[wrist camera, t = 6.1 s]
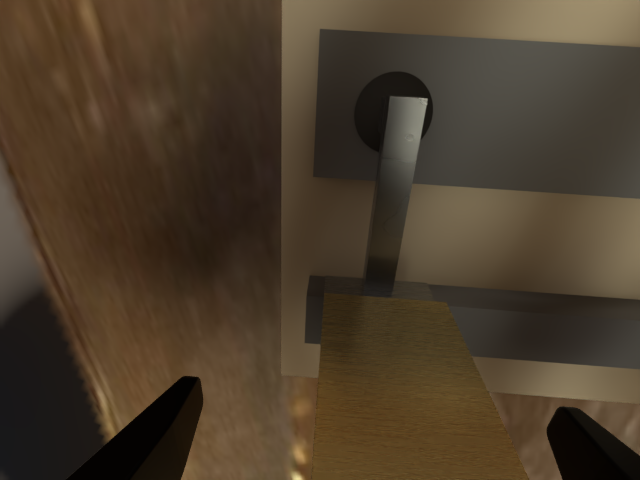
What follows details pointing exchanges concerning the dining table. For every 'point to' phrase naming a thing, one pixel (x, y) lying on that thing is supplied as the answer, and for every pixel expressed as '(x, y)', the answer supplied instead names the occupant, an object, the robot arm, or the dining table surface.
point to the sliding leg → (400, 354)
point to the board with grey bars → (475, 178)
